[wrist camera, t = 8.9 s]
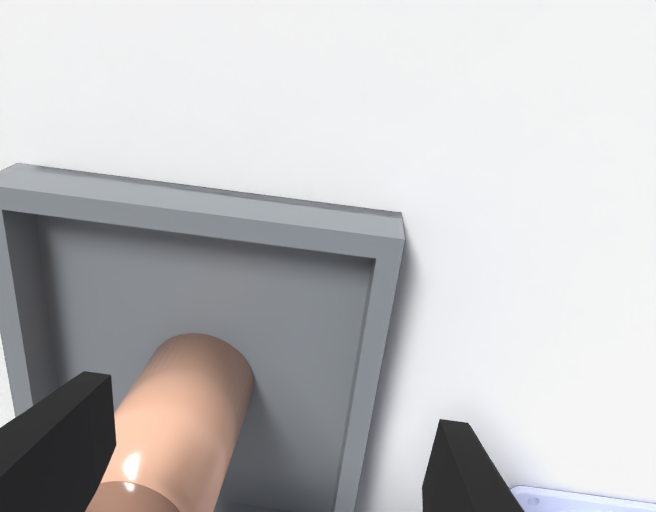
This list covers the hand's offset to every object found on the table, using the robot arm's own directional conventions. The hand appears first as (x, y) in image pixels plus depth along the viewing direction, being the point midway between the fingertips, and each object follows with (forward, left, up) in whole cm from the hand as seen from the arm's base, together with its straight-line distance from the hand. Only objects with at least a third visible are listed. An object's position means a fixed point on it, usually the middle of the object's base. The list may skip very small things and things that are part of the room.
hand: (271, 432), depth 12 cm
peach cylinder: (+4, +6, -9) cm, 11 cm away
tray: (+4, +6, -9) cm, 12 cm away
